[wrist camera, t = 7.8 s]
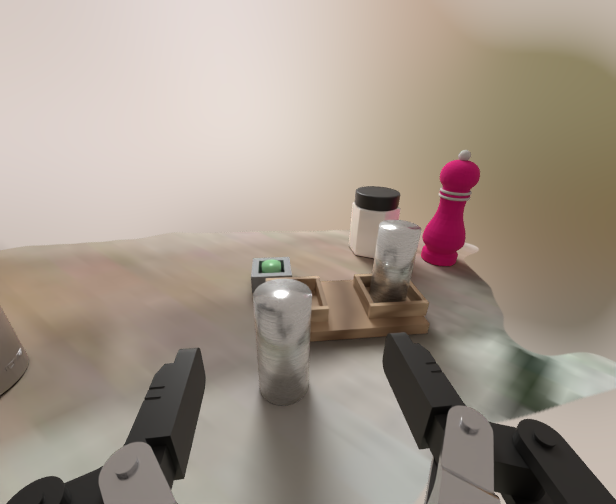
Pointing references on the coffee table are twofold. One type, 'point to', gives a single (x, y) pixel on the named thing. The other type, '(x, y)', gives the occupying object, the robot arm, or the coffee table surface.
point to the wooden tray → (360, 310)
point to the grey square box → (260, 277)
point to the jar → (371, 217)
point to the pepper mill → (450, 212)
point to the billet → (283, 339)
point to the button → (271, 266)
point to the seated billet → (394, 260)
